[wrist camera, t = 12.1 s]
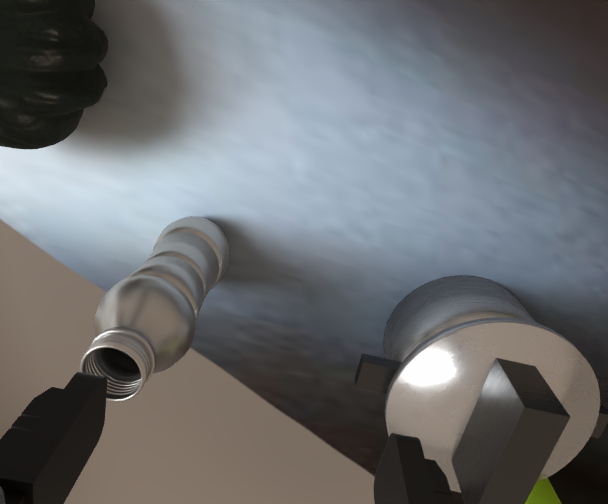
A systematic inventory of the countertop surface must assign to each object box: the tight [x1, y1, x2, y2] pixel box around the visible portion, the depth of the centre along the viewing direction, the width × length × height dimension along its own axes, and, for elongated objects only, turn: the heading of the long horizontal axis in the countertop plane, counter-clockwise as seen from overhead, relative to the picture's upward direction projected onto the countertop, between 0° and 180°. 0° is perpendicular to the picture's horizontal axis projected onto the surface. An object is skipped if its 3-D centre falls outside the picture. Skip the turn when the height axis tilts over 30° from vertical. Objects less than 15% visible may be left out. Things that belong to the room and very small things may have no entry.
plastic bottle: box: [80, 216, 229, 402], centre depth 36 cm, size 6×7×20 cm
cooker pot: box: [355, 275, 608, 439], centre depth 43 cm, size 14×21×10 cm
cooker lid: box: [385, 317, 600, 504], centre depth 35 cm, size 16×16×6 cm
